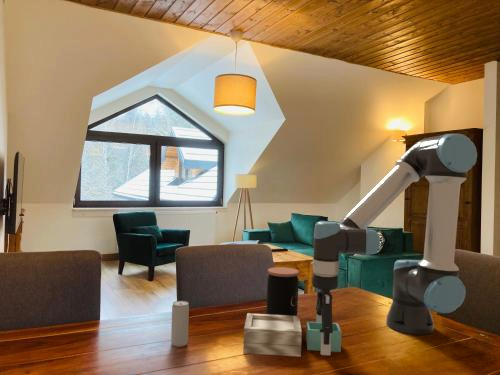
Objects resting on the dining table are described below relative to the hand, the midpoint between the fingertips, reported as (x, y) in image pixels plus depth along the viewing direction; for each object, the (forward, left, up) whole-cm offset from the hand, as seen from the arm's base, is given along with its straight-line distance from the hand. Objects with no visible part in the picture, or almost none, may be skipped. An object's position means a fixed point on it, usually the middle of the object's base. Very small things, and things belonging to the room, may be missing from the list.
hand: (322, 345), depth 121 cm
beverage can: (+42, +5, 0) cm, 42 cm away
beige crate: (+15, +2, 0) cm, 15 cm away
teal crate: (0, 0, 0) cm, 0 cm away
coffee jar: (+12, -18, 0) cm, 22 cm away
